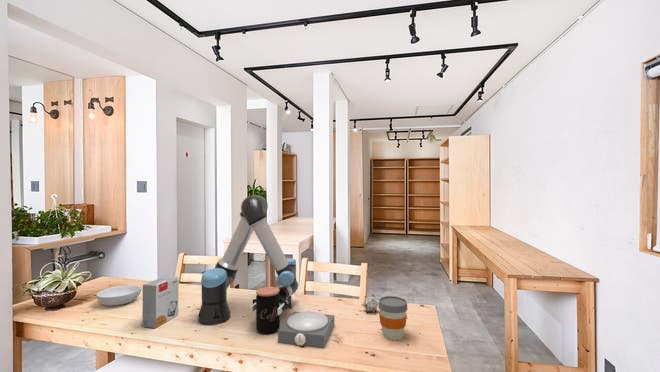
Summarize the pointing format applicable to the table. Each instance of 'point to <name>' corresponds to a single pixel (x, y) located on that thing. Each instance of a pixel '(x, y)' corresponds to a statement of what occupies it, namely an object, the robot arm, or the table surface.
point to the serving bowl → (118, 294)
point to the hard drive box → (160, 301)
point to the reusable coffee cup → (393, 316)
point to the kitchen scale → (306, 329)
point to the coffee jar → (267, 310)
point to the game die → (370, 303)
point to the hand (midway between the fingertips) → (264, 310)
